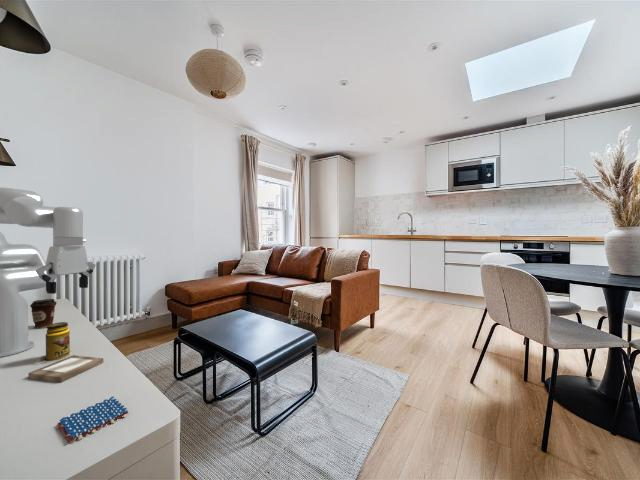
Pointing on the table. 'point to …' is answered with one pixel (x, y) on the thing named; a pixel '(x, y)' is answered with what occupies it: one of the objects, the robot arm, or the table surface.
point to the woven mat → (91, 419)
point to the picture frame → (65, 368)
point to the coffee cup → (43, 312)
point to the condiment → (56, 343)
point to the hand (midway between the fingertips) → (68, 290)
